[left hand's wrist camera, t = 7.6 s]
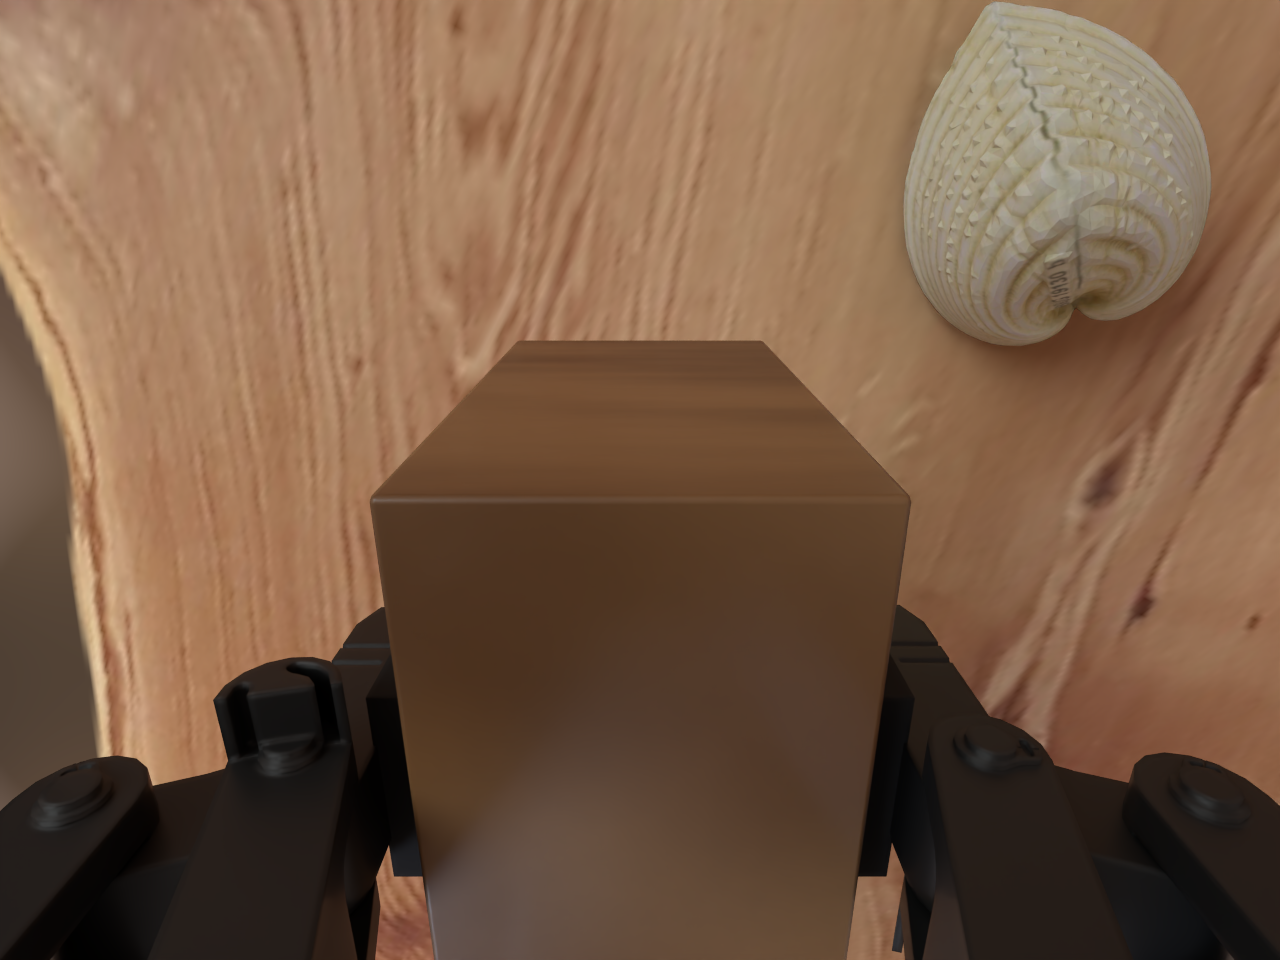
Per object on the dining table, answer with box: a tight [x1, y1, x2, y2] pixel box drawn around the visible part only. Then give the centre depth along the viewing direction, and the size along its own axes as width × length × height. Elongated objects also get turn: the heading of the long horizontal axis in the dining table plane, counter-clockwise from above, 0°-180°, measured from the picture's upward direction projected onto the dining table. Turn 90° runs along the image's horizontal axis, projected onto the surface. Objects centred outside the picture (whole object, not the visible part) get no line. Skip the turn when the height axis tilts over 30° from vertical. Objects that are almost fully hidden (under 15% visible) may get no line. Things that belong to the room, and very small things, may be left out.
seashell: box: [904, 2, 1211, 346], centre depth 21 cm, size 8×8×8 cm
